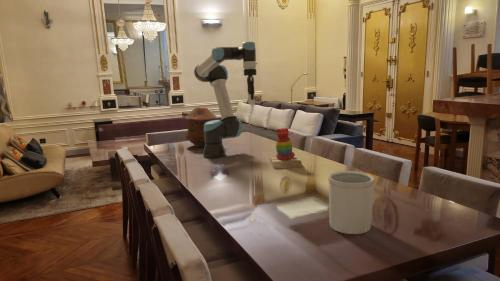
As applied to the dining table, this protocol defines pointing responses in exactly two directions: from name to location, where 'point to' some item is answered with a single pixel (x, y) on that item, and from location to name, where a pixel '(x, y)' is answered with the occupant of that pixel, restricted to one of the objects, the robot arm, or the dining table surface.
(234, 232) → the dining table surface
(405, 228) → the dining table surface
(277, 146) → the stacking bear
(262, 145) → the dining table surface
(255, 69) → the robot arm
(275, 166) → the maple block
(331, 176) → the utensil holder
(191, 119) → the pottery vessel
